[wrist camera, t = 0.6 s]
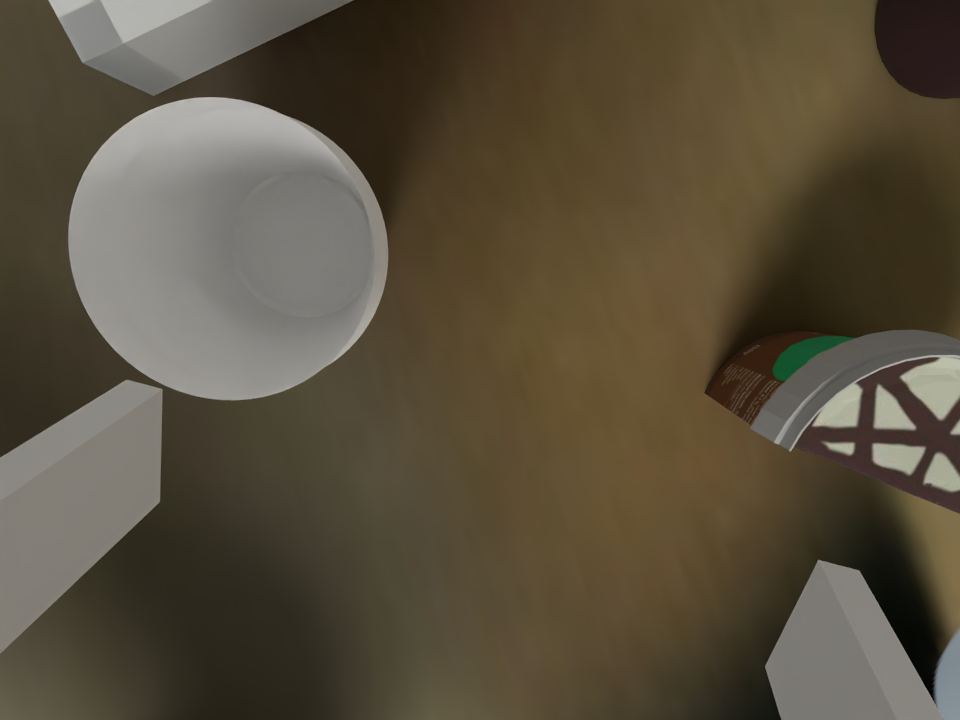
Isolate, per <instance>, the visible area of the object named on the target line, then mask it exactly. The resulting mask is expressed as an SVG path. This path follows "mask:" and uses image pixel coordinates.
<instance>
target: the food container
mask: <svg viewBox="0 0 960 720" xmlns="http://www.w3.org/2000/svg"><path fill="white" fill-rule="evenodd" d="M705 394H706V395H708V396H709V397H711V398H712V399H714V400H715V401H717V402H718V403H720V404H721V405H722V406H724V407H725V408H727V409H728V410H730V411H731V412H733V413H734V414H736V415H737V416H738V417H740V418H741V419H743V420H744V421H746V422H747V423H749V424H750V425H752V426H751V428H750V429H751V430H753V431H755V432H757V433H758V434H760V435H762V436H764V437H765V438H767V439H769V440H770V441H772V442H774V443H776V444H779V445H781V446H782V447H784V448H785V449H787V450H789V451H791V450H792V449H793V447H794V446H795V447H796V448H798V449H800V450H803V451H807V452H810V453H813V454H815V455H818V456H821V457H823V458H825V459H828V460H830V461H832V462H835V463H837V464H840V465H842V466H844V467H847V468H849V469H852V470H854V471H857V472H859V473H862V474H864V475H867V476H869V477H872V478H874V479H876V480H879V481H881V482H883V483H886V484H888V485H891V486H893V487H895V488H898V489H900V490H902V491H905V492H907V493H910V494H912V495H914V496H917V497H919V498H922V499H924V500H927V501H930V502H932V503H935V504H937V505H940V506H942V507H945V508H947V509H949V510H952V511H954V512H957V513H959V514H960V340H959V339H956V338H953V337H950V336H947V335H944V334H941V333H935V332H928V331H922V330H890V331H885V332H879V333H873V334H867V335H864V336H861V337H858V338H852V337H845V336H838V335H831V334H824V333H817V332H810V331H786V332H780V333H775V334H772V335H769V336H766V337H763V338H760V339H758V340H756V341H755V342H753V343H751V344H749V345H747V346H745V347H744V348H743V349H741V350H740V351H739V352H737V353H736V354H734V355H733V356H732V357H731V358H730V359H729V360H728V361H727V362H726V363H725V364H724V365H723V366H722V367H721V368H720V370H719V371H718V372H717V374H716V375H715V376H714V377H713V379H712V381H711V382H710V384H709V386H708V388H707V389H706V391H705Z"/></svg>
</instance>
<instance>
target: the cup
mask: <svg viewBox="0 0 960 720" xmlns="http://www.w3.org/2000/svg"><path fill="white" fill-rule="evenodd" d="M68 247H69V258H70V264H71V270H72V274H73V278H74V281H75V285H76V288H77V291H78V293H79V296H80V299H81V301H82V303H83V305H84V307H85V309H86V311H87V313H88V315H89V317H90V318H91V320H92V322H93V323H94V325H95V326H96V328H97V329H98V331H99V332H100V333H101V335H102V336H103V337H104V339H105V340H106V341H107V342H108V343H109V344H110V345H111V347H112V348H113V349H114V350H115V351H116V352H117V353H118V354H119V355H120V356H122V357H123V358H124V359H125V360H126V361H127V362H128V363H130V364H131V365H132V366H133V367H135V368H136V369H137V370H139V371H140V372H142V373H143V374H145V375H147V376H148V377H150V378H151V379H153V380H155V381H157V382H159V383H161V384H163V385H165V386H167V387H170V388H172V389H175V390H177V391H180V392H183V393H187V394H190V395H193V396H198V397H203V398H208V399H217V400H246V399H254V398H260V397H265V396H269V395H273V394H276V393H279V392H282V391H285V390H287V389H290V388H292V387H294V386H296V385H298V384H300V383H302V382H304V381H306V380H307V379H309V378H310V377H312V376H314V375H315V374H316V373H318V372H319V371H320V370H322V369H323V368H324V367H326V366H328V365H329V364H331V363H332V362H334V361H335V360H336V359H338V358H339V357H340V356H342V355H343V354H344V353H345V352H346V351H347V350H348V349H349V348H350V347H351V346H352V345H353V344H354V343H355V342H356V341H357V340H358V339H359V337H360V336H361V335H362V334H363V332H364V331H365V329H366V328H367V326H368V325H369V323H370V321H371V320H372V318H373V316H374V314H375V312H376V310H377V307H378V305H379V303H380V300H381V297H382V294H383V290H384V286H385V281H386V277H387V268H388V242H387V234H386V228H385V223H384V220H383V216H382V213H381V209H380V207H379V204H378V202H377V199H376V197H375V195H374V193H373V191H372V189H371V187H370V185H369V183H368V182H367V180H366V178H365V177H364V175H363V174H362V172H361V171H360V170H359V168H358V167H357V166H356V164H355V163H354V162H353V161H352V160H351V158H350V157H349V156H348V155H347V154H346V153H345V152H344V151H343V150H342V149H341V148H340V147H339V146H337V145H336V144H335V143H334V142H333V141H332V140H330V139H329V138H328V137H326V136H325V135H323V134H322V133H321V132H319V131H317V130H316V129H314V128H312V127H311V126H309V125H307V124H305V123H303V122H300V121H298V120H296V119H294V118H291V117H288V116H285V115H283V114H280V113H278V112H276V111H274V110H272V109H269V108H266V107H264V106H261V105H258V104H255V103H251V102H247V101H243V100H237V99H230V98H218V97H204V98H191V99H185V100H179V101H175V102H172V103H168V104H164V105H162V106H159V107H156V108H154V109H151V110H149V111H147V112H145V113H143V114H141V115H139V116H137V117H136V118H134V119H133V120H131V121H130V122H128V123H127V124H125V125H124V126H123V127H121V128H120V129H119V130H118V131H117V132H115V133H114V134H113V135H112V136H111V137H110V138H109V139H108V140H107V141H106V142H105V143H104V144H103V145H102V146H101V148H100V149H99V150H98V152H97V153H96V154H95V155H94V157H93V158H92V160H91V161H90V163H89V165H88V166H87V168H86V170H85V172H84V174H83V176H82V178H81V180H80V182H79V184H78V187H77V190H76V193H75V196H74V199H73V203H72V208H71V212H70V219H69V228H68Z"/></svg>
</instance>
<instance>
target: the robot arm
mask: <svg viewBox="0 0 960 720" xmlns="http://www.w3.org/2000/svg"><path fill="white" fill-rule="evenodd" d="M162 390H163V389H161V388H157V387H153V386H149V385H145V384H142V383H138V382H134V381H130V380H125V381H124V382H122V383H120V384H119V385H117V386H116V387H114V388H112V389H111V390H109V391H107V392H106V393H104V394H103V395H101V396H99V397H98V398H96V399H94V400H93V401H91V402H90V403H88V404H86V405H85V406H83V407H81V408H80V409H78V410H77V411H75V412H73V413H72V414H70V415H68V416H67V417H65V418H64V419H62V420H60V421H59V422H57V423H56V424H54V425H52V426H51V427H49V428H47V429H46V430H44V431H43V432H41V433H39V434H38V435H36V436H34V437H33V438H31V439H30V440H28V441H26V442H25V443H23V444H21V445H20V446H18V447H17V448H15V449H13V450H12V451H10V452H8V453H7V454H5V455H4V456H2V457H0V653H2V652H3V651H4V650H5V649H6V648H7V647H8V646H9V645H10V644H11V643H12V642H13V641H14V640H15V639H16V638H17V637H18V636H19V635H20V634H22V633H23V632H24V631H25V630H26V629H27V628H28V627H29V626H30V625H31V624H32V623H33V622H34V621H35V620H36V619H37V618H38V617H39V616H40V615H42V614H43V613H44V612H45V611H46V610H47V609H48V608H49V607H50V606H51V605H52V604H53V603H54V602H55V601H56V600H57V599H58V598H59V597H60V596H62V595H63V594H64V593H65V592H66V591H67V590H68V589H69V588H70V587H71V586H72V585H73V584H74V583H75V582H76V581H77V580H78V579H79V578H80V577H82V576H83V575H84V574H85V573H86V572H87V571H88V570H89V569H90V568H91V567H92V566H93V565H94V564H95V563H96V562H97V561H98V560H99V559H100V558H102V557H103V556H104V555H105V554H106V553H107V552H108V551H109V550H110V549H111V548H112V547H113V546H114V545H115V544H116V543H117V542H118V541H119V540H121V539H122V538H123V537H124V536H125V535H126V534H127V533H128V532H129V531H130V530H131V529H132V528H133V527H134V526H135V525H136V524H137V523H138V522H139V521H141V520H142V519H143V518H144V517H145V516H146V515H147V514H148V513H149V512H150V511H151V510H152V509H153V508H154V507H155V506H156V505H157V504H158V503H159V502H160V479H161V435H162ZM765 668H766V671H767V674H768V677H769V681H770V684H771V687H772V690H773V694H774V697H775V700H776V703H777V707H778V710H779V713H780V716H781V720H944V719H943V717H942V716H941V714H940V712H939V710H938V709H937V707H936V705H935V703H934V702H933V700H932V698H931V696H930V694H929V693H928V691H927V689H926V687H925V686H924V684H923V682H922V680H921V679H920V677H919V675H918V673H917V672H916V670H915V668H914V666H913V664H912V663H911V661H910V659H909V657H908V656H907V654H906V652H905V650H904V649H903V647H902V645H901V643H900V642H899V640H898V638H897V636H896V635H895V633H894V631H893V629H892V627H891V626H890V624H889V622H888V620H887V619H886V617H885V615H884V613H883V612H882V610H881V608H880V606H879V605H878V603H877V601H876V599H875V597H874V596H873V594H872V592H871V590H870V589H869V587H868V585H867V583H866V582H865V580H864V578H863V576H862V575H861V573H860V571H859V570H855V569H851V568H847V567H843V566H839V565H836V564H832V563H828V562H824V561H820V560H818V562H817V564H816V566H815V568H814V570H813V572H812V574H811V576H810V578H809V580H808V582H807V584H806V586H805V588H804V590H803V592H802V594H801V596H800V598H799V600H798V602H797V604H796V606H795V608H794V610H793V612H792V614H791V616H790V618H789V620H788V622H787V624H786V626H785V628H784V630H783V632H782V634H781V636H780V638H779V640H778V642H777V644H776V646H775V648H774V650H773V652H772V654H771V656H770V658H769V660H768V662H767V664H766V666H765Z"/></svg>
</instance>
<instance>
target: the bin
mask: <svg viewBox="0 0 960 720" xmlns="http://www.w3.org/2000/svg"><path fill="white" fill-rule="evenodd" d="M351 1H353V0H49V2H50V4H51V6H52V8H53V9H54V11H55V13H56V15H57V17H58V19H59V21H60V22H61V24H62V26H63V28H64V30H65V32H66V33H67V35H68V37H69V39H70V41H71V43H72V44H73V46H74V48H75V50H76V52H77V54H78V56H79V57H80V59H81V61H82V63H83V64H86V65H88V66H90V67H92V68H94V69H96V70H99V71H101V72H103V73H105V74H107V75H109V76H111V77H114V78H116V79H118V80H120V81H122V82H124V83H126V84H129V85H131V86H133V87H135V88H137V89H139V90H141V91H144V92H146V93H148V94H150V95H152V96H155V95H157V94H159V93H161V92H163V91H165V90H167V89H169V88H171V87H174V86H176V85H178V84H180V83H182V82H184V81H186V80H188V79H190V78H192V77H194V76H197V75H199V74H201V73H203V72H205V71H207V70H209V69H211V68H213V67H215V66H217V65H220V64H222V63H224V62H226V61H228V60H230V59H232V58H234V57H236V56H238V55H240V54H243V53H245V52H247V51H249V50H251V49H253V48H255V47H257V46H259V45H261V44H263V43H266V42H268V41H270V40H272V39H274V38H276V37H278V36H280V35H282V34H284V33H286V32H289V31H291V30H293V29H295V28H297V27H299V26H301V25H303V24H305V23H307V22H309V21H312V20H314V19H316V18H318V17H320V16H322V15H324V14H326V13H328V12H330V11H332V10H335V9H337V8H339V7H341V6H343V5H345V4H347V3H349V2H351Z"/></svg>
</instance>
